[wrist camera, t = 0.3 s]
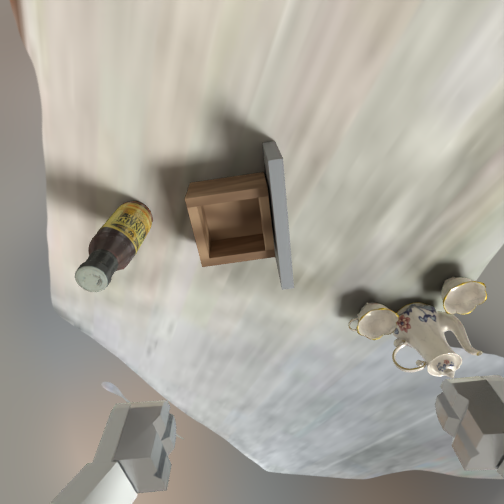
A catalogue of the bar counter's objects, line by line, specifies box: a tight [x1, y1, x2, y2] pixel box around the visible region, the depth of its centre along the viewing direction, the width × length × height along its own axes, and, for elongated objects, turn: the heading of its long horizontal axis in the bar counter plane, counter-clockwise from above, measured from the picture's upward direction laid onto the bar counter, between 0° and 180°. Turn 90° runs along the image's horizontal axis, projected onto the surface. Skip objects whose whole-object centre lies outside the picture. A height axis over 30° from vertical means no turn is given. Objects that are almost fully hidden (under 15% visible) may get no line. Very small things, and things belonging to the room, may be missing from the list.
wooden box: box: [185, 172, 275, 267], centre depth 55 cm, size 12×12×7 cm
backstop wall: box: [262, 141, 294, 290], centre depth 54 cm, size 22×2×10 cm, turn 8°
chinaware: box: [348, 276, 487, 378], centre depth 66 cm, size 28×17×17 cm, turn 116°
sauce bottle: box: [75, 201, 153, 292], centre depth 49 cm, size 6×6×20 cm
